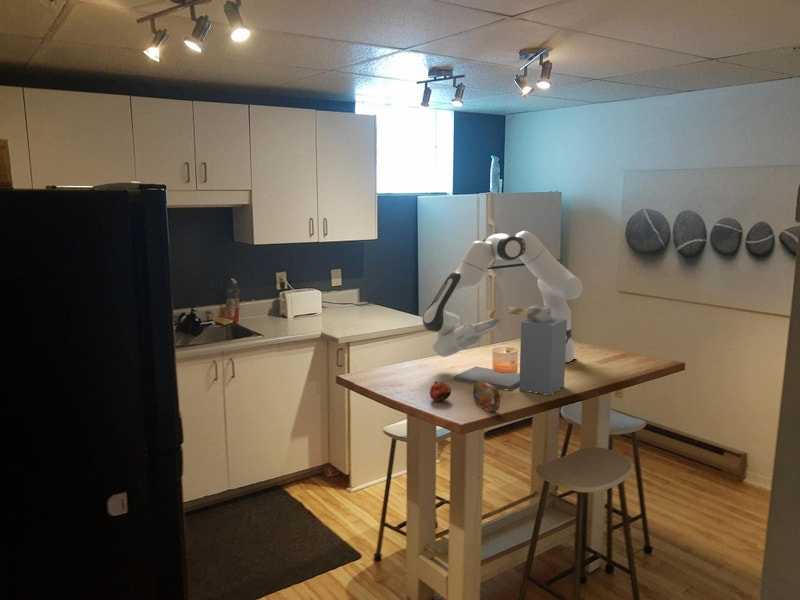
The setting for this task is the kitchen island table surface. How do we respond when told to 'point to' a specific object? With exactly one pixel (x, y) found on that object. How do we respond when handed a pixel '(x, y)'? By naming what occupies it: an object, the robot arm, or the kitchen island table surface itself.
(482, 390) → the tin
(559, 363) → the stand
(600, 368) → the kitchen island table surface
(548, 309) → the mallet
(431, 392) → the pomegranate
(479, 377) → the board
